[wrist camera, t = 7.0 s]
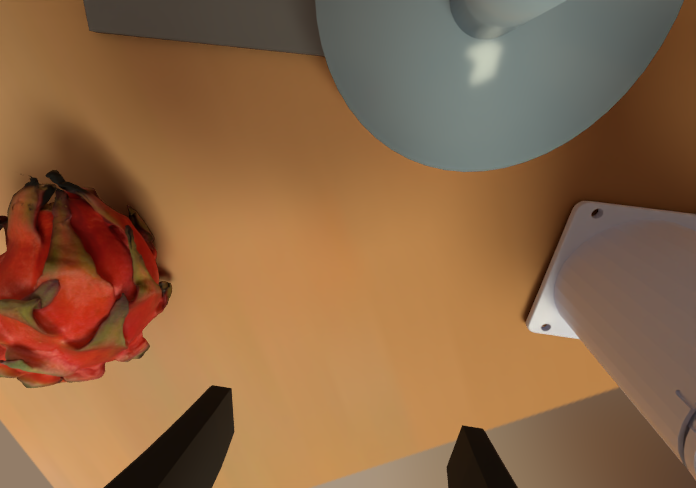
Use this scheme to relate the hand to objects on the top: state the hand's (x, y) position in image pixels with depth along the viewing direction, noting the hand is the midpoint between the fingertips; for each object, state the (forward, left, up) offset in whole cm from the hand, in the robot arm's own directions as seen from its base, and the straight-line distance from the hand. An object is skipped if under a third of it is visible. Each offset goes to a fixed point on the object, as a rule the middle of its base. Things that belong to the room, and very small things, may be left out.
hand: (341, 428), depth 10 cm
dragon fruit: (+15, +1, -10) cm, 18 cm away
